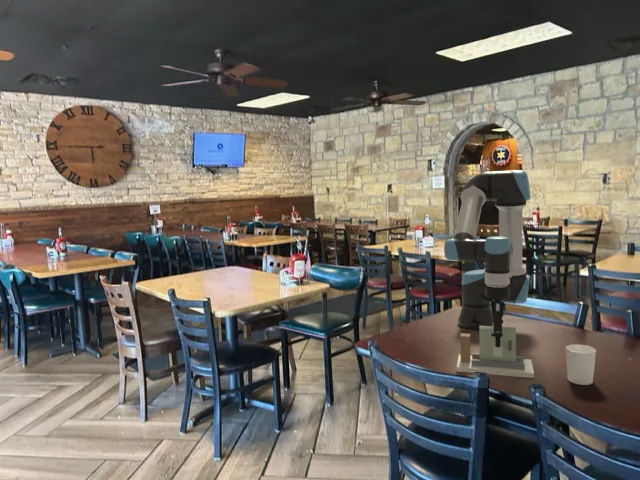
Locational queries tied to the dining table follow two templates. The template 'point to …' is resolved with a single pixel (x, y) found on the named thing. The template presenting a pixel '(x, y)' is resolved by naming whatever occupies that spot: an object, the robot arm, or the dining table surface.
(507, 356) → the door panel
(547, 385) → the dining table surface
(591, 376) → the white cup
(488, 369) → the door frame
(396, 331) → the dining table surface
